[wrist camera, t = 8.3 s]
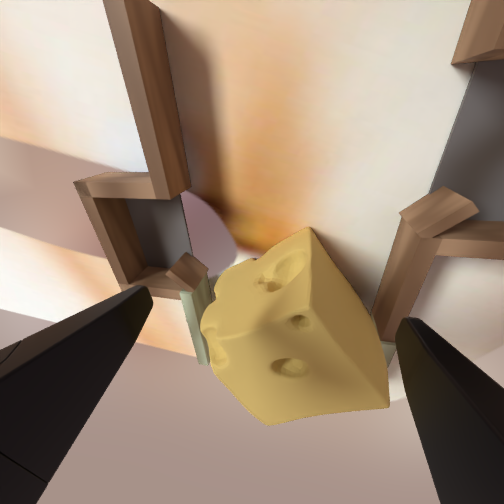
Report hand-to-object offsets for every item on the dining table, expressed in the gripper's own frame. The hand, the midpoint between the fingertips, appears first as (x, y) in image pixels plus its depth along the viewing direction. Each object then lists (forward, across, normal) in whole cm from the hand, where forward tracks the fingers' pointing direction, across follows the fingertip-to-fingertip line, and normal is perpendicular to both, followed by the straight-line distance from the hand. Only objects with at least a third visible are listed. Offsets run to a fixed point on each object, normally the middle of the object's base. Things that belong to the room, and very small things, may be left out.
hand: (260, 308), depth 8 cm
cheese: (+13, -1, +9) cm, 16 cm away
